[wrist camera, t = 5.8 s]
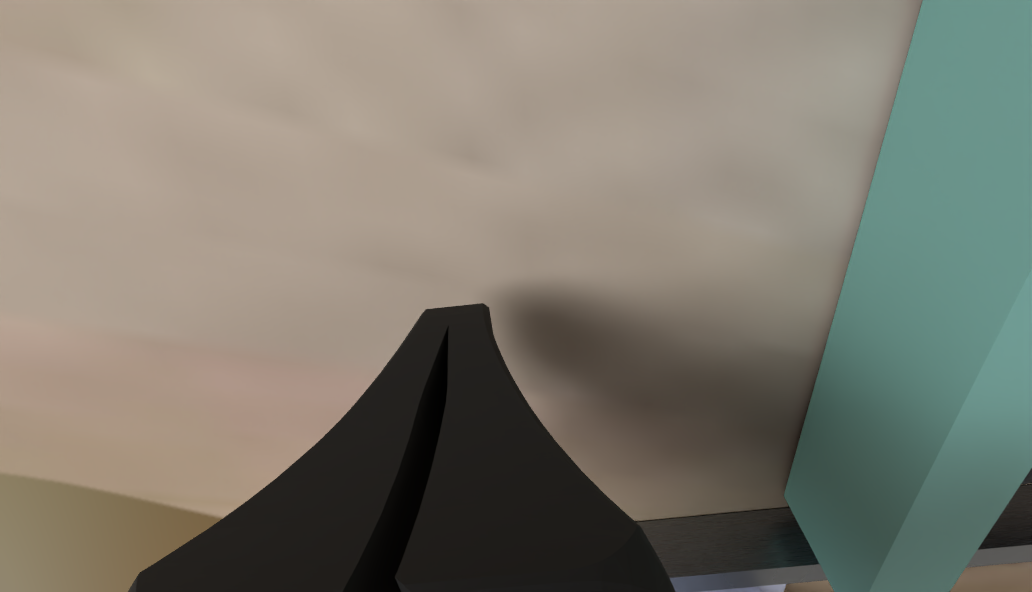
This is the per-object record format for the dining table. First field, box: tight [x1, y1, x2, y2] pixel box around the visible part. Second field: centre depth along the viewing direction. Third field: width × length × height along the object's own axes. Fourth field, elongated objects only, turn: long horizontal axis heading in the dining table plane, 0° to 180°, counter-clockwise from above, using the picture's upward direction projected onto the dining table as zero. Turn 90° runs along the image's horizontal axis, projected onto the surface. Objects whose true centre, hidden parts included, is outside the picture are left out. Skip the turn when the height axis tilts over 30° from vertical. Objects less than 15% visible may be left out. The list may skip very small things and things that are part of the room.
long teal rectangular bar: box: [784, 0, 1032, 592], centre depth 11 cm, size 18×2×4 cm, turn 6°
